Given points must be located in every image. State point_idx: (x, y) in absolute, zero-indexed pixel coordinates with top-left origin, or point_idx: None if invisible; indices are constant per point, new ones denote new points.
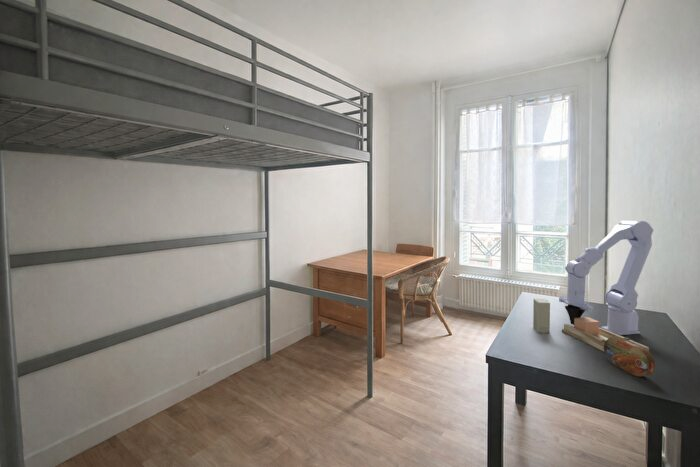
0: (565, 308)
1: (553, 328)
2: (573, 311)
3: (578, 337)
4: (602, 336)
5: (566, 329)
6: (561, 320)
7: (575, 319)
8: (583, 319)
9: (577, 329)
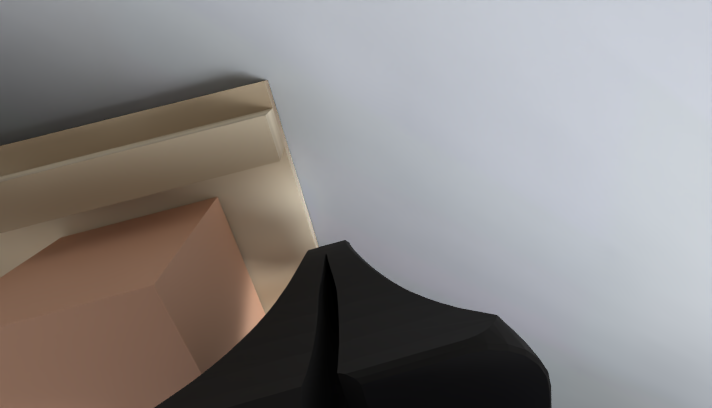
0: (476, 312)
1: (369, 30)
2: (195, 392)
3: (5, 146)
4: None
5: (226, 119)
6: (582, 248)
7: (132, 281)
8: (108, 396)
9: (34, 192)
